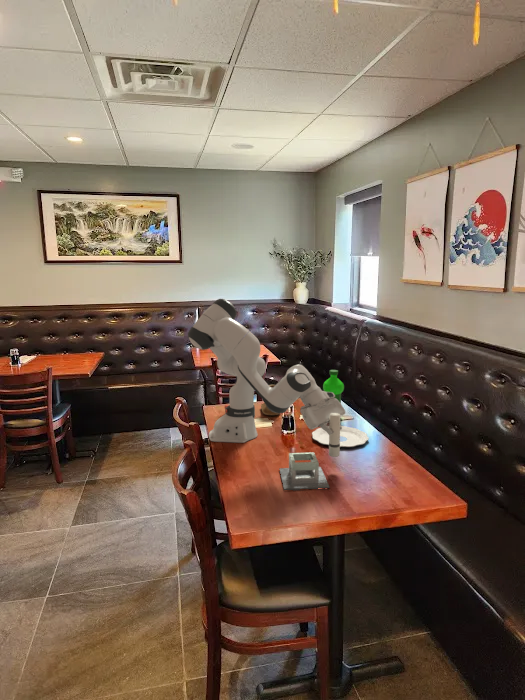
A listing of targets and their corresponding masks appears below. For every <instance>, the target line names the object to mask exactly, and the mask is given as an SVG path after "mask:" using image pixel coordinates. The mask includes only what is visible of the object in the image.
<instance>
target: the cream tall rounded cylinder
mask: <svg viewBox="0 0 525 700" xmlns="http://www.w3.org/2000/svg"><path fill="white" fill-rule="evenodd" d="M340 425H341V418H340V414H338V413H331V414H330V416H329V423H328V426H329V428H330V429H331V428H332V430H333V431H334V433H332V434H331V435H329V445H328V456H329V457H331V458H338V457H340V451H341V449H340V448H341V447H340V442H341V440H340V439H341V436H340Z"/></svg>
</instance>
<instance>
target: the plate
mask: <svg viewBox="0 0 525 700" xmlns="http://www.w3.org/2000/svg"><path fill="white" fill-rule="evenodd" d="M327 426H328V427H329V425H327ZM341 427H342V429H341V430H340V437H342V438H343V437H344V438H346V440H344V441H340V448H354V447H358V446H362V445H364V444H366V442H368V441H369V439H370V438H369V436H368V434H367V433H366V432H365V431H362V430H360V429H359V428H356V427H349V426H345V425H341ZM311 435H312V439H313V440H314V441H316V442H318V443H319V444H321V445H325V446H329V435H328V433H327V432H326V431H325V430H323V429H322V428H321V427H317V428H316V429H315V430H314V431H312V432H311Z"/></svg>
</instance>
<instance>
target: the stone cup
mask: <svg viewBox="0 0 525 700" xmlns="http://www.w3.org/2000/svg"><path fill="white" fill-rule="evenodd" d="M268 385H269V386H270V387H272V388H273V387H274V386H275V385H276V384H268ZM260 408H261V411H262V414H263V415H266V416H279V415H281V413H274V412H272V411H270V410H269V409H268V407H267V406H266V404H265V403H264V402H262V403H261V405H260Z"/></svg>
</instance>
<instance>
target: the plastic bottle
mask: <svg viewBox="0 0 525 700" xmlns="http://www.w3.org/2000/svg"><path fill="white" fill-rule="evenodd" d="M329 375H330V377H329V378H328V379H326V380H325V381H324V382H323V384H322V391H325V392H333V393H334V394H335V397H334V398H336V399H337V400H338V401H339V402H340V403H342V393H343V392H344V390H345V385H344V382H342V381H341V380H340V379H339V378H338V375H339V370H337V369H330V370H329Z"/></svg>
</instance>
